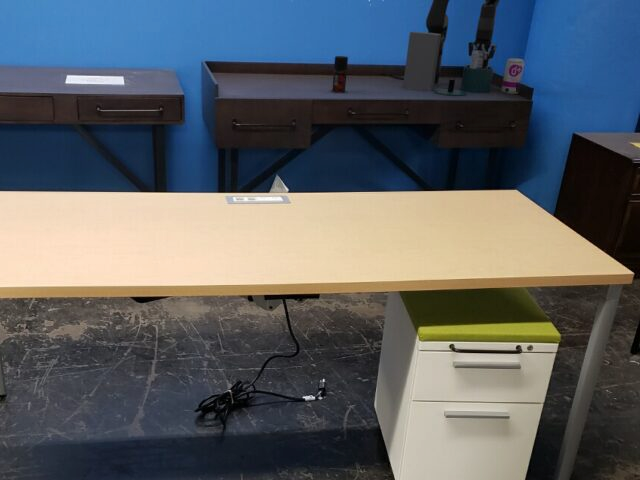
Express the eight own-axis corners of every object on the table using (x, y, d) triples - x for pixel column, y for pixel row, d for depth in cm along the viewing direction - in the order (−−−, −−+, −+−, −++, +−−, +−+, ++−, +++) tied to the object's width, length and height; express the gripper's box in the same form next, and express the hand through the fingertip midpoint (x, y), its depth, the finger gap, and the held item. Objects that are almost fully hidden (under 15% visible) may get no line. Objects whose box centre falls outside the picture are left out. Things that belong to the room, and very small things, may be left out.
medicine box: (475, 71, 367) (478, 51, 362) (468, 69, 370) (472, 50, 366) (487, 70, 370) (491, 50, 366) (481, 69, 373) (484, 49, 369)
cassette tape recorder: (434, 90, 374) (442, 33, 361) (430, 92, 369) (438, 35, 356) (406, 87, 379) (413, 31, 366) (402, 88, 374) (409, 32, 362)
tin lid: (428, 93, 366) (430, 78, 363) (445, 90, 375) (447, 75, 372) (454, 98, 357) (457, 83, 354) (471, 95, 366) (474, 80, 363)
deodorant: (346, 91, 364) (349, 56, 356) (343, 93, 359) (346, 58, 351) (333, 89, 366) (336, 55, 358) (330, 92, 361) (333, 57, 353)
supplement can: (519, 94, 371) (525, 61, 363) (501, 93, 372) (507, 60, 365) (517, 91, 378) (524, 58, 370) (500, 90, 379) (506, 57, 372)
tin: (454, 90, 375) (458, 66, 369) (470, 87, 383) (474, 64, 378) (479, 95, 367) (483, 70, 361) (494, 92, 375) (499, 67, 370)
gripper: (503, 29, 359) (496, 68, 367) (476, 26, 367) (469, 64, 376) (494, 30, 354) (488, 69, 363) (467, 26, 363) (461, 65, 371)
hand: (478, 66), depth 369 cm, fingers closed on medicine box, 5 cm apart
